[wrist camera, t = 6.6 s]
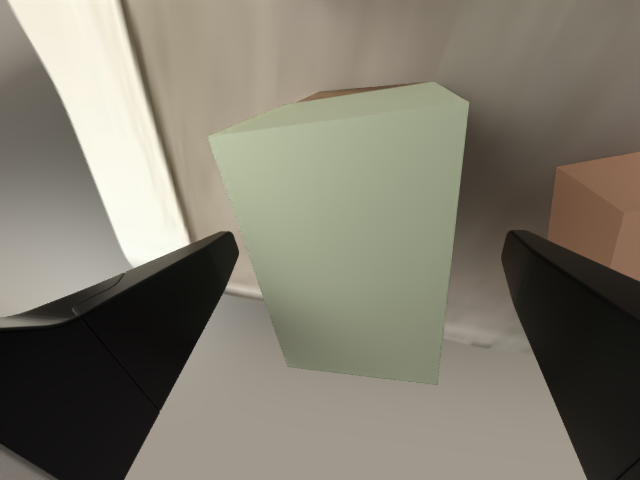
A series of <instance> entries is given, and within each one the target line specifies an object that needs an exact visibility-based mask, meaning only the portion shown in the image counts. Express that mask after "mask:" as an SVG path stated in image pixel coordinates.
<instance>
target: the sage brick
mask: <svg viewBox="0 0 640 480" xmlns="http://www.w3.org/2000/svg"><path fill="white" fill-rule="evenodd" d="M468 109H469V102H468V101H466V100H465V99H463V98H461V97H459V96H458V95H456V94H454V93H453V92H451V91H449V90H448V89H446V88H444V87H442V86H441V85H439V84H437V83H436V82H428V83H421V84H415V85H408V86H402V87H395V88H389V89H382V90H376V91H369V92H363V93H356V94H350V95H343V96H337V97H330V98H324V99H317V100H311V101H304V102H298V103H291V104H284V105H282V106H280V107H277V108H275V109H272V110H270V111H268V112H265V113H263V114H260V115H258V116H256V117H253V118H251V119H248V120H246V121H243V122H241V123H239V124H236V125H234V126H231V127H229V128H227V129H224V130H222V131H219V132H217V133H215V134H212V135H210V136H207V137H208V140H209V143H210V145H211V148H212V151H213V154H214V157H215V160H216V163H217V166H218V168H219V171H220V174H221V177H222V180H223V183H224V186H225V189H226V191H227V194H228V197H229V200H230V203H231V206H232V209H233V211H234V214H235V217H236V220H237V223H238V226H239V229H240V232H241V234H242V237H243V240H244V243H245V246H246V249H247V252H248V255H249V257H250V260H251V263H252V266H253V269H254V272H255V275H256V277H257V280H258V283H259V286H260V289H261V292H262V295H263V298H264V300H265V303H266V306H267V309H268V312H269V315H270V318H271V320H272V323H273V326H274V329H275V332H276V335H277V338H278V341H279V343H280V346H281V349H282V352H283V355H284V358H285V361H286V363H287V366H288V367H292V368H300V369H309V370H317V371H326V372H333V373H342V374H350V375H358V376H367V377H375V378H383V379H391V380H401V381H408V382H416V383H425V384H433V385H437V384H438V375H439V366H440V356H441V348H442V339H443V331H444V322H445V313H446V304H447V295H448V286H449V278H450V269H451V260H452V251H453V242H454V233H455V224H456V216H457V207H458V198H459V189H460V180H461V171H462V162H463V154H464V145H465V136H466V127H467V118H468Z"/></svg>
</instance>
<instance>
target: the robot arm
mask: <svg viewBox="0 0 640 480" xmlns="http://www.w3.org/2000/svg"><path fill="white" fill-rule="evenodd" d="M238 256H239V250H238V247H237V244H236V241H235V238H234V235H233V234H232V232H229V231H221V232H218V233H216V234H213V235H211V236H209V237H206V238H204V239H202V240H199V241H197V242H195V243H192V244H190V245H188V246H185V247H183V248H181V249H178V250H176V251H174V252H171V253H169V254H167V255H164V256H162V257H160V258H157V259H155V260H153V261H150V262H148V263H146V264H143V265H141V266H138V267H136V268H134V269H131V270H129V271H127V272H126V273H122V274H120V275H118V276H115V277H113V278H110V279H108V280H106V281H103V282H101V283H98V284H96V285H93V286H91V287H89V288H86V289H83V290H81V291H78V292H76V293H73V294H71V295H68V296H65V297H63V298H60V299H58V300H55V301H53V302H50V303H47V304H45V305H42V306H39V307H37V308H35V309H32V310H29V311H26V312H23V313H20V314H16V315H12V316H7V317H1V318H0V480H124V479H125V477H126V475H127V473H128V471H129V469H130V468H131V466H132V464H133V462H134V460H135V458H136V456H137V454H138V453H139V451H140V449H141V447H142V445H143V443H144V441H145V439H146V437H147V435H148V434H149V432H150V429H151V428H152V426H153V424H154V422H155V420H156V419H157V417H158V415H159V413H160V410H161V409H162V407H163V405H164V403H165V401H166V399H167V398H168V396H169V394H170V392H171V390H172V388H173V386H174V384H175V383H176V381H177V379H178V377H179V375H180V373H181V371H182V369H183V368H184V365H185V364H186V362H187V360H188V358H189V356H190V354H191V353H192V351H193V349H194V347H195V345H196V343H197V341H198V339H199V338H200V336H201V334H202V332H203V330H204V328H205V326H206V324H207V322H208V321H209V319H210V317H211V315H212V313H213V311H214V309H215V307H216V305H217V304H218V302H219V300H220V298H221V296H222V294H223V292H224V290H225V288H226V286H227V284H228V281H229V279H230V276H231V274H232V271H233V269H234V266H235V264H236V261H237V259H238ZM501 259H502V264H503V268H504V272H505V275H506V279H507V283H508V287H509V290H510V294H511V298H512V301H513V304H514V307H515V310H516V312H517V315H518V317H519V319H520V322H521V324H522V327H523V329H524V331H525V334H526V336H527V338H528V341H529V343H530V345H531V348H532V350H533V353H534V355H535V357H536V360H537V362H538V364H539V367H540V369H541V371H542V374H543V376H544V378H545V381H546V383H547V386H548V388H549V390H550V393H551V395H552V397H553V399H554V402H555V404H556V407H557V409H558V412H559V414H560V416H561V419H562V421H563V423H564V426H565V428H566V430H567V433H568V435H569V438H570V440H571V442H572V445H573V447H574V449H575V452H576V454H577V456H578V459H579V461H580V463H581V466H582V468H583V471H584V473H585V475H586V478H587V480H640V281H638V280H635V279H633V278H631V277H629V276H626V275H624V274H622V273H620V272H618V271H615V270H613V269H611V268H609V267H606V266H604V265H602V264H600V263H598V262H595V261H593V260H591V259H589V258H586V257H584V256H582V255H580V254H577V253H575V252H573V251H571V250H569V249H566V248H564V247H562V246H560V245H557V244H555V243H553V242H551V241H549V240H546V239H544V238H542V237H540V236H537V235H535V234H533V233H531V232H529V231H526V230H511V231H509V232H508V233H507V236H506V239H505V243H504V247H503V251H502V257H501Z"/></svg>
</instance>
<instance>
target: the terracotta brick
mask: <svg viewBox="0 0 640 480" xmlns="http://www.w3.org/2000/svg"><path fill="white" fill-rule="evenodd" d="M547 240H549V241H551V242H553V243H555V244H557V245H560V246H562V247H564V248H566V249H569V250H571V251H573V252H575V253H577V254H580V255H582V256H584V257H586V258H589V259H591V260H593V261H595V262H598V263H600V264H602V265H604V266H606V267H609V268H611V269H613V270H615V271H618V272H620V273H622V274H624V275H626V276H629V277H631V278H633V279H635V280H638V281H640V152H635V153H630V154H624V155H618V156H613V157H607V158H602V159H596V160H590V161H585V162H579V163H573V164H568V165H562V166H557V167H556V174H555V182H554V190H553V198H552V206H551V214H550V222H549V230H548V238H547Z"/></svg>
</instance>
